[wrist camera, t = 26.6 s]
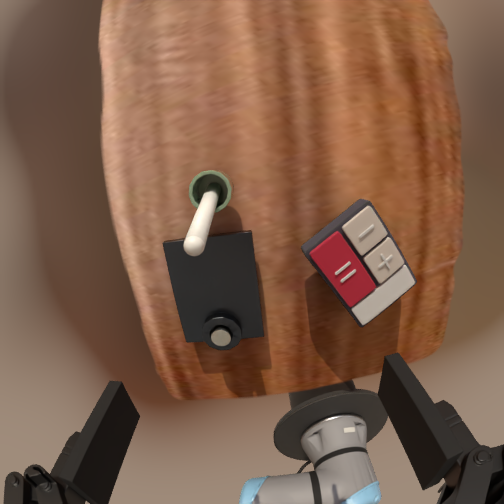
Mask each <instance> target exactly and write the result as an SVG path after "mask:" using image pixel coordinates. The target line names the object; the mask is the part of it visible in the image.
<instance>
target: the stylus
mask: <svg viewBox="0 0 504 504" xmlns="http://www.w3.org/2000/svg"><path fill="white" fill-rule="evenodd" d="M220 192H221V188H220V186H219V184H217V183H210V184H209V185H208V186H207V188H206V190H205V193H204V195H203V197H202V200H201V202H200V204H199V207H198V209H197V211H196V214H195V216H194V219H193V221H192V223H191V226H190V228H189V231H188V233H187V236H186V238H185V241H184V250H185V251H186V253H187V254H189V255H191V256H198V255H200V254H201V253H202V252H203V251H204V248H205V244H206V241H207V237H208V233H209V230H210V226H211V223H212V219H213V216H214V212H215V209H216V205H217V202H218V198H219V195H220Z"/></svg>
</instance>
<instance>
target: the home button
mask: <svg viewBox="0 0 504 504" xmlns="http://www.w3.org/2000/svg"><path fill="white" fill-rule="evenodd" d="M211 340H212V342H213V343H214V344H216V345H218V346H225V345H227V344H229V343H230V341H231V331H230V329H229V328H228V327H226V326H223V325H219V326H216V327H215V328H214V329H213V330H212V334H211Z"/></svg>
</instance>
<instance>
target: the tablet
mask: <svg viewBox="0 0 504 504" xmlns="http://www.w3.org/2000/svg"><path fill="white" fill-rule="evenodd" d="M184 241H185V238H184V239H176V240H168V241H164V242H163V247H164V252H165V257H166V261H167V266H168V271H169V275H170V280H171V284H172V288H173V292H174V297H175V301H176V305H177V309H178V313H179V316H180V320H181V324H182V328H183V331H184V335H185V339H186V342H206V343H207V344H208V345H209V346H210V347H212V348H215V349H218V350H229V349H231V348H233V347H235V346H237V345H238V344H239V342H240V340H241V339H244V338H254V337H264V330H263V322H262V313H261V305H260V297H259V288H258V280H257V272H256V263H255V255H254V247H253V238H252V231H251V230H248V231H240V232H231V233H223V234H215V235H208V237H207V241H206V244H205V248H204V251H203V252H202V253H201V254H200V255H198V256H191V255H189V254H187V253H186V251H185V250H184ZM219 325H223V326H226V327H228V328H229V329H230V331H231V341H230V343H229V344H227V345H225V346H218V345H216V344H214V343H213V342H212V340H211V334H212V330H213V329H214V328H215V327H216V326H219Z"/></svg>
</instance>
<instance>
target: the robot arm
mask: <svg viewBox="0 0 504 504" xmlns="http://www.w3.org/2000/svg"><path fill="white" fill-rule="evenodd" d="M378 396H379V398H380V400H381V402H382V404H383V406H384V408H385V410H386V412H387V414H388V416H389V418H390V420H391V422H392V424H393V426H394V428H395V430H396V433H397V434H398V437H399V439H400V441H401V443H402V445H403V447H404V449H405V452H406V454H407V456H408V458H409V460H410V462H411V465H412V467H413V469H414V471H415V473H416V476H417V478H418V480H419V483H420V484H421V487H422V490H425V489H427V488H429V487H432V486H433V485H436V484H438V483H439V482H440V480H441V479H442V478H444V479H445V483H444V484H443V485H442V486H441V488H440V489H439V490H438V493H440V492H441V491H442V492H441V494H440V497H439V500H438V502H437V504H504V445H500V446H497V447H493V448H490V447H488V446H485V445H480V444H479V443H478V442H477V441H476V439H475V438H474V437H473V435H472V433H471V432H470V431H469V429H468V427H467V426H466V425H465V423H464V422H463V421H462V419H461V417H460V416H459V415H458V413H457V412H456V410H455V409H454V407H453V406H452V405H451V404H449V403H448V402H446V401H444V400H442V401H440V402H438V403H436V404H434V403H433V401H432V400H431V398H430V397H429V395H428V394H427V392H426V391H425V389H424V388H423V387H422V385H421V384H420V382H419V381H418V379H417V378H416V377H415V375H414V374H413V372H412V371H411V369H410V368H409V367H408V365H407V364H406V362H405V361H404V360H403V358H402V357H401V356H400V354H399V353H395V354H391V355H387V356H385V358H384V364H383V370H382V376H381V381H380V386H379V391H378ZM139 418H140V415H139V413H138V412H137V410H136V408H135V406H134V404H133V403H132V401H131V399H130V397H129V395H128V393H127V391H126V389H125V387H124V385H123V383H122V382H118V381H110V382H109V383H108V385H107V387H106V389H105V390H104V392H103V394H102V395H101V397H100V399H99V401H98V402H97V404H96V406H95V408H94V409H93V411H92V413H91V415H90V417H89V418H88V420H87V422H86V424H85V426H84V428H83V429H82V431H81V433H80V432H75V433H74V434H73V435H72V436H70V438H69V439H68V441H67V442H66V444H65V447H64V448H63V450H62V453H61V454H60V455H59V457H58V459H57V461H56V463H55V465H54V467H53V469H52V471H51V473H50V474H49V473H48V472H47V471H46V470H45V469H44V468H42V467H41V466H40V465H37V464H36V465H31V466H29V467H28V468H27V469H26V470H25V472H24V477H23V476H22V475H21V474H20V473H18V472H11V473H10V474H8V476H7V477H6V480H5V490H4V504H85V501H87V502H89V503H90V504H108V503H109V500H110V497H111V494H112V491H113V488H114V485H115V482H116V480H117V477H118V474H119V471H120V468H121V466H122V463H123V460H124V457H125V455H126V452H127V449H128V446H129V444H130V441H131V439H132V436H133V433H134V430H135V428H136V425H137V423H138V420H139ZM300 439H301V445H302V448H303V450H304V451H305V453H306V454H307V456H308V457H309V459H310V460H309V461H308V462H306V463H305V464H304V465H303V466H302V467H301V468H300V470H299V471H298V472H297V474H289V475H280V476H266V477H260V478H252V479H249V480H248V481H247V482H246V483H245V484H244V486H243V488H242V491H241V495H240V501H239V504H378V503H379V501H380V500H381V492H380V489H379V482H378V481H377V478H376V475H375V472H374V469H373V466H372V464H371V461H370V458H369V455H368V452H367V450H366V441H367V426H366V423H365V420H364V418H363V417H362V416H361V415H359V414H356V413H337V414H333V415H329V416H326V417H324V418H321V419H319V420H317V421H315V422H313V423H312V424H310V425H309V426H308V427H307V428H306V429H305V430H304V431H303V432H302V434H301V438H300ZM311 462H312V463H313V465H314V470H315V471H311V472H304V473H301V472H302V470H303V469H304V467H306V466H307V465H308V464H310V463H311Z"/></svg>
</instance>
